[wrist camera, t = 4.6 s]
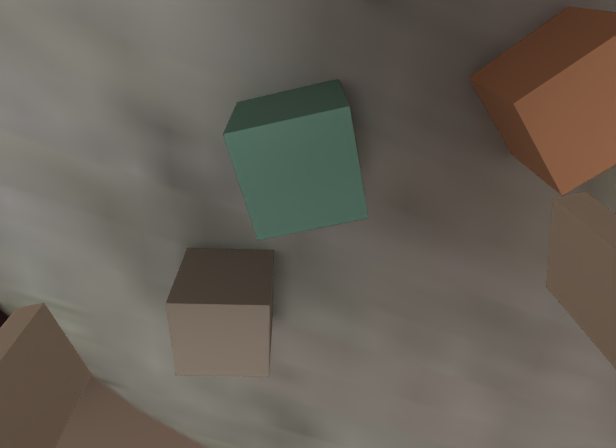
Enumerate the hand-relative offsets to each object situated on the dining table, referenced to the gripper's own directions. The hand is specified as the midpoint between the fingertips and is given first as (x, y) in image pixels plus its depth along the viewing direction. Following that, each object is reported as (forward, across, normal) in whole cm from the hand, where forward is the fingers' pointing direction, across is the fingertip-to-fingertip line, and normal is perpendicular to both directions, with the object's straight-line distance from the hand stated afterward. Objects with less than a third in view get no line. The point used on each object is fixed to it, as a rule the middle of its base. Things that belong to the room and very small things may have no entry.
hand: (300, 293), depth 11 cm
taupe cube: (+13, -6, -8) cm, 16 cm away
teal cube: (+12, 0, 0) cm, 13 cm away
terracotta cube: (+12, +12, 0) cm, 17 cm away
